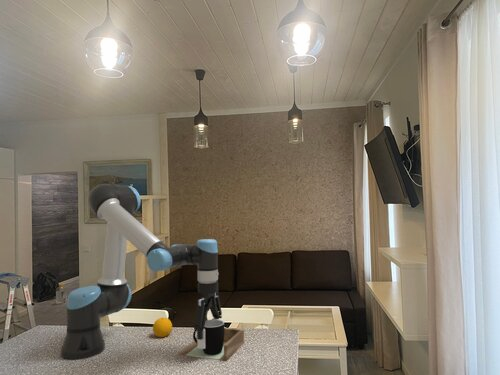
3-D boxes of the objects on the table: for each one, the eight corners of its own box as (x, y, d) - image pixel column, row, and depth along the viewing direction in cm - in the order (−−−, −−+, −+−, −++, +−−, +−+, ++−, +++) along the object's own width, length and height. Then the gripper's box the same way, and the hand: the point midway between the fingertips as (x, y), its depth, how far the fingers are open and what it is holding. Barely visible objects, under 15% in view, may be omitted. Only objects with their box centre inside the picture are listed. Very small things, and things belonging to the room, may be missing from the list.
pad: (185, 355, 124) (185, 354, 124) (200, 344, 134) (200, 343, 134) (219, 359, 119) (219, 359, 120) (231, 347, 130) (231, 347, 130)
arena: (176, 357, 125) (175, 340, 125) (198, 340, 141) (198, 325, 141) (227, 363, 118) (226, 345, 119) (244, 345, 134) (244, 329, 135)
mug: (228, 347, 129) (227, 319, 130) (220, 357, 121) (219, 327, 121) (198, 345, 132) (197, 318, 133) (188, 355, 123) (188, 326, 124)
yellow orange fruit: (168, 331, 153) (168, 313, 154) (175, 336, 147) (174, 318, 147) (150, 335, 149) (150, 317, 149) (156, 340, 142) (156, 321, 143)
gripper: (202, 288, 116) (203, 355, 115) (229, 275, 139) (230, 332, 137) (182, 287, 119) (183, 353, 117) (212, 275, 141) (213, 330, 139)
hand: (208, 342), depth 127 cm, fingers open, 11 cm apart
